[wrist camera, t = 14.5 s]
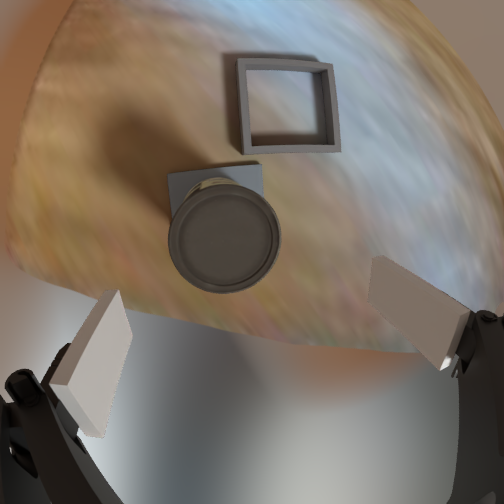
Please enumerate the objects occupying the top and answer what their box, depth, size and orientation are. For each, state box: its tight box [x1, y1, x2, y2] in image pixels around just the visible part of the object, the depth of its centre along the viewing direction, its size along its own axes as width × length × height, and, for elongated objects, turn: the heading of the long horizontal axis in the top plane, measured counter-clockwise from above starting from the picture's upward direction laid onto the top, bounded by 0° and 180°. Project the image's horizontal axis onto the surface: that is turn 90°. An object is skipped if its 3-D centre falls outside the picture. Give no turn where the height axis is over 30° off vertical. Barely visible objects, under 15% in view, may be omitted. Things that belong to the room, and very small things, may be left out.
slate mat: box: [167, 164, 264, 219], centre depth 38 cm, size 13×13×1 cm
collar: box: [235, 58, 341, 155], centre depth 34 cm, size 14×14×2 cm
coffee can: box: [168, 177, 281, 294], centre depth 31 cm, size 10×10×14 cm
